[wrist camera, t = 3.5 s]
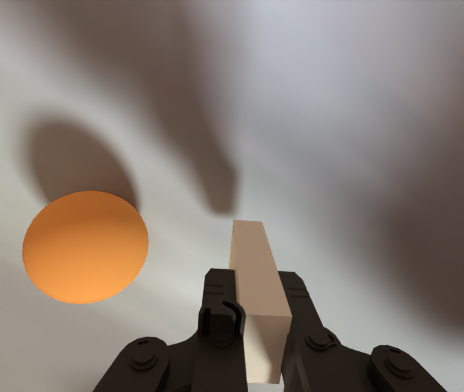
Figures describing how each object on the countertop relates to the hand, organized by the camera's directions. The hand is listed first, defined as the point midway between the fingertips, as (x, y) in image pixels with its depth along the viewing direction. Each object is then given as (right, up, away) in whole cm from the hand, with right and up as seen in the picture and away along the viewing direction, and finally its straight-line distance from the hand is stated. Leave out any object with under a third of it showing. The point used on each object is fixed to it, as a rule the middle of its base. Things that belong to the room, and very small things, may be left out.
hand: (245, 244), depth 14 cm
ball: (-8, 0, -1) cm, 8 cm away
